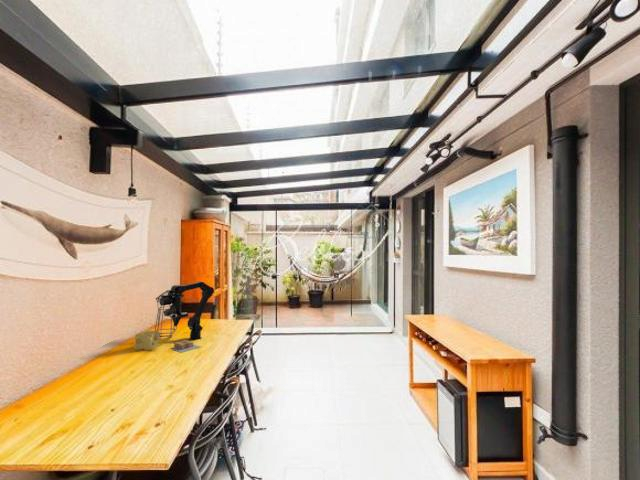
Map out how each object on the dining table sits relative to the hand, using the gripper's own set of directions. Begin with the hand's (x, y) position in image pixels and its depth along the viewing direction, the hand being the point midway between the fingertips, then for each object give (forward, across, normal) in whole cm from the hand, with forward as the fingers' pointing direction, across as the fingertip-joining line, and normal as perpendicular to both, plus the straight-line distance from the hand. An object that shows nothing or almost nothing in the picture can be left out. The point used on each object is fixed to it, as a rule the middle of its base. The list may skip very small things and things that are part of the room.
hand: (175, 326), depth 212 cm
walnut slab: (+10, +8, -2) cm, 13 cm away
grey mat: (+12, +15, -2) cm, 19 cm away
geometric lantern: (+12, -19, +6) cm, 23 cm away
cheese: (+12, -8, -16) cm, 21 cm away
